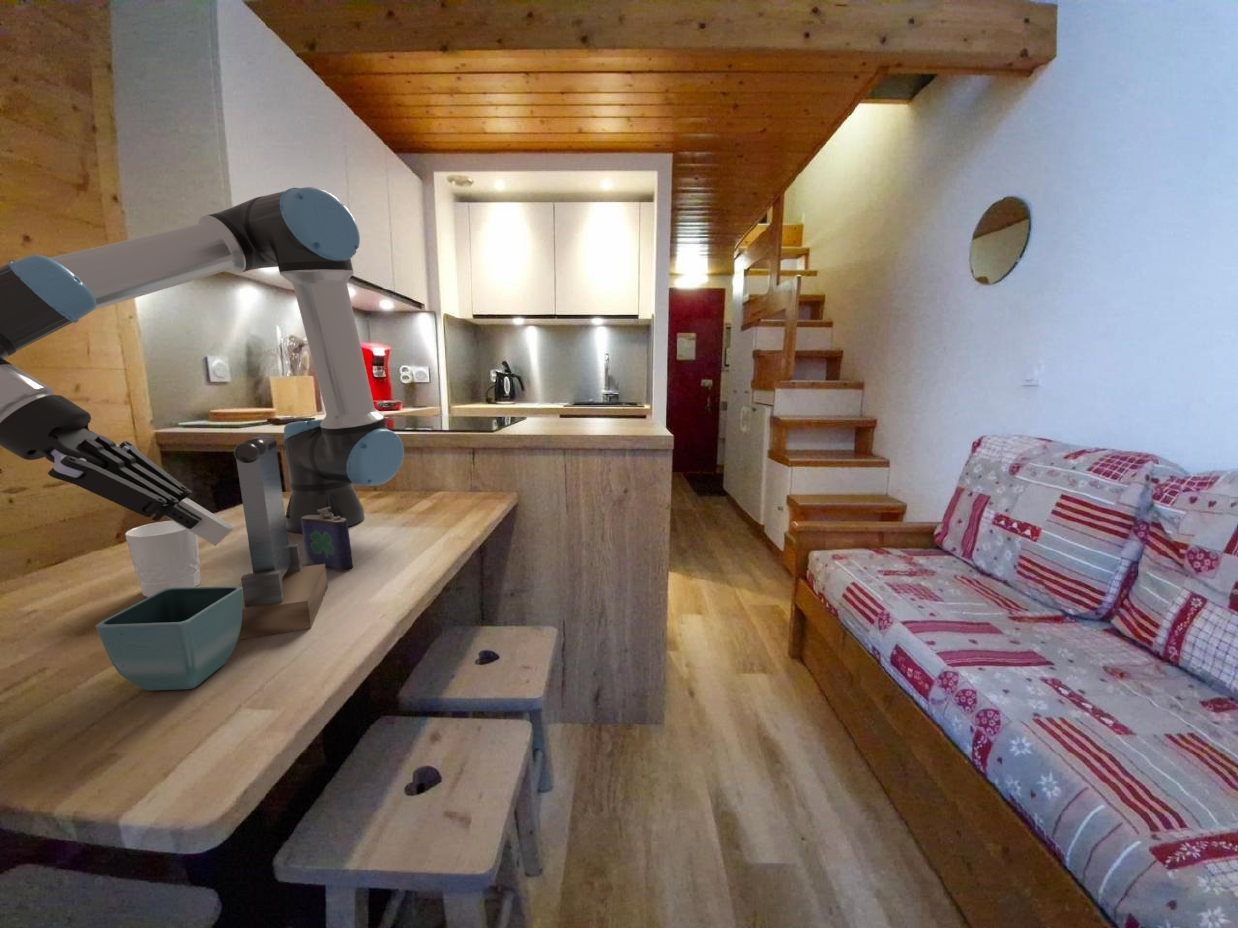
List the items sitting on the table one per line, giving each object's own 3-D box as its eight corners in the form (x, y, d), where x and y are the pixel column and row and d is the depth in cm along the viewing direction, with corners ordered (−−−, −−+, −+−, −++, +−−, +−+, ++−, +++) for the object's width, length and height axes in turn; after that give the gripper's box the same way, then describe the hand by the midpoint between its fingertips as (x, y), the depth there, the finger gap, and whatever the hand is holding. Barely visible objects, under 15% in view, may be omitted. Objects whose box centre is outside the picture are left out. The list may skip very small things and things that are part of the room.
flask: (302, 566, 84) (295, 507, 82) (317, 560, 87) (310, 503, 85) (345, 572, 82) (339, 512, 80) (358, 566, 85) (353, 507, 83)
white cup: (165, 602, 71) (152, 538, 69) (123, 597, 73) (110, 534, 71) (218, 580, 79) (208, 521, 77) (179, 575, 80) (169, 518, 78)
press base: (219, 643, 61) (209, 584, 59) (251, 597, 73) (244, 547, 71) (311, 628, 65) (304, 572, 63) (327, 587, 76) (322, 539, 75)
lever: (252, 602, 63) (229, 444, 58) (272, 574, 71) (253, 434, 67) (276, 599, 64) (254, 443, 59) (293, 571, 72) (275, 433, 68)
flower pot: (179, 655, 58) (166, 586, 57) (255, 652, 59) (244, 584, 57) (109, 704, 50) (91, 625, 48) (198, 701, 50) (184, 623, 49)
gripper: (38, 431, 60) (222, 541, 70) (-55, 448, 49) (181, 577, 58) (86, 389, 61) (261, 502, 71) (6, 394, 50) (229, 530, 59)
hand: (225, 536), depth 65 cm, fingers closed
